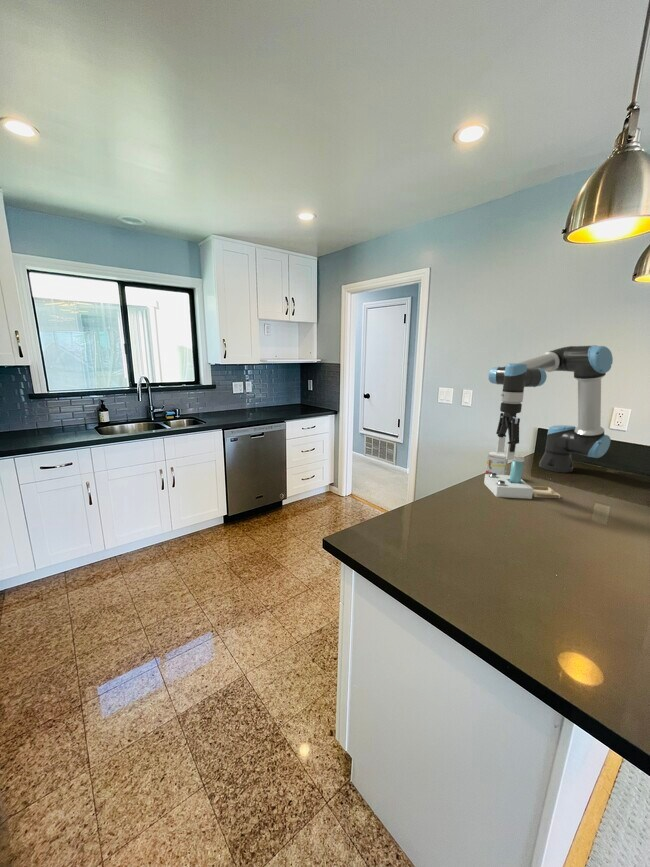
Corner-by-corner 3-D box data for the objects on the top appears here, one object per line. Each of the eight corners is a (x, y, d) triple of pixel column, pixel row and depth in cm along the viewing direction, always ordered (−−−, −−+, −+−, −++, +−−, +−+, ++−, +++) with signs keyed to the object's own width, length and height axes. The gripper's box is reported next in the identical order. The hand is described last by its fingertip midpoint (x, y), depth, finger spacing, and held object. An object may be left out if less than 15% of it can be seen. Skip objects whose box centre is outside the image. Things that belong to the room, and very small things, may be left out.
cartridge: (505, 488, 156) (510, 454, 152) (517, 489, 155) (522, 454, 152) (510, 492, 151) (514, 457, 148) (521, 493, 150) (526, 457, 147)
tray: (524, 489, 156) (524, 485, 156) (548, 490, 155) (548, 486, 155) (534, 498, 147) (535, 494, 146) (560, 499, 145) (560, 495, 145)
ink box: (484, 476, 174) (487, 453, 171) (487, 473, 177) (490, 451, 175) (503, 480, 168) (506, 456, 166) (505, 477, 172) (508, 454, 169)
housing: (483, 484, 162) (485, 474, 161) (515, 486, 160) (517, 475, 159) (496, 498, 147) (497, 486, 145) (531, 499, 145) (533, 488, 144)
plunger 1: (488, 483, 160) (489, 472, 159) (494, 483, 160) (495, 472, 159) (490, 485, 158) (491, 474, 156) (496, 485, 157) (497, 474, 156)
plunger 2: (495, 491, 150) (497, 480, 149) (502, 492, 150) (503, 480, 149) (498, 494, 148) (499, 482, 147) (504, 494, 148) (506, 482, 146)
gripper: (492, 398, 152) (486, 448, 157) (512, 406, 130) (505, 463, 135) (510, 399, 151) (504, 448, 156) (534, 406, 129) (526, 464, 134)
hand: (504, 455), depth 145 cm, fingers open, 10 cm apart
